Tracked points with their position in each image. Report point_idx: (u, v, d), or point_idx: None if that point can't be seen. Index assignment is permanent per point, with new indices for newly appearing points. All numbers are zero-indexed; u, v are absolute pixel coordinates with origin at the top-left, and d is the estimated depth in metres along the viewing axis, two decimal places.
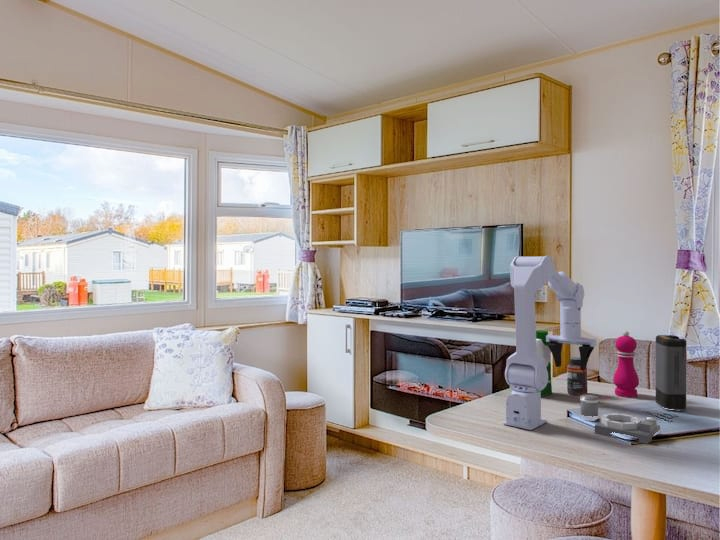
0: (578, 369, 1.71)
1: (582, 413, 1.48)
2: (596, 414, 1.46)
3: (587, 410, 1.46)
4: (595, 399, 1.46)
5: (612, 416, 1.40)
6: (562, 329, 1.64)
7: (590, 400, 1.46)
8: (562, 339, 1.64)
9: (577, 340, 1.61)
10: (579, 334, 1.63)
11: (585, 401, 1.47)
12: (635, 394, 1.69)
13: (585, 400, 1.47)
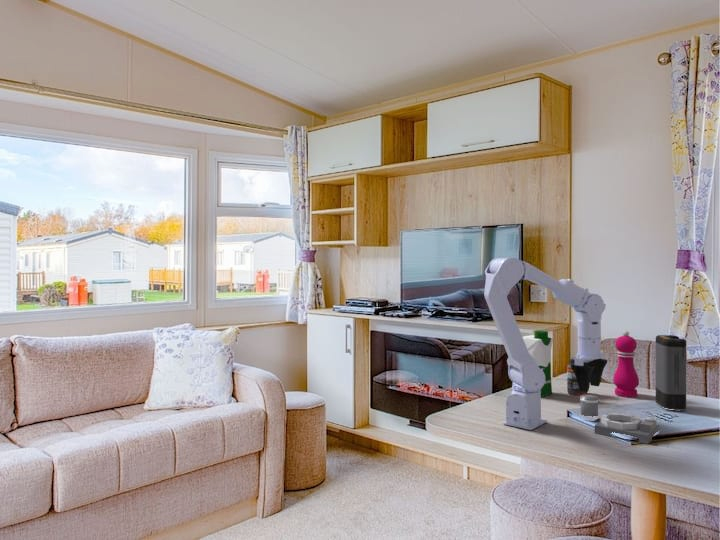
0: None
1: (582, 413, 1.48)
2: (596, 414, 1.46)
3: (587, 410, 1.46)
4: (595, 399, 1.46)
5: (612, 416, 1.40)
6: None
7: (590, 400, 1.46)
8: None
9: (576, 356, 1.47)
10: (584, 351, 1.46)
11: (585, 401, 1.47)
12: (635, 394, 1.69)
13: (585, 400, 1.47)
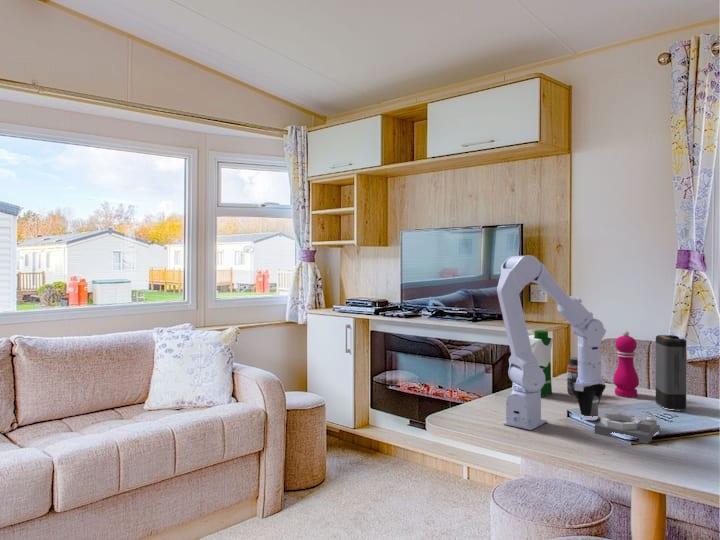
0: None
1: None
2: (596, 414, 1.46)
3: None
4: (595, 399, 1.46)
5: (612, 416, 1.40)
6: None
7: None
8: None
9: None
10: (584, 376, 1.46)
11: None
12: (635, 394, 1.69)
13: None
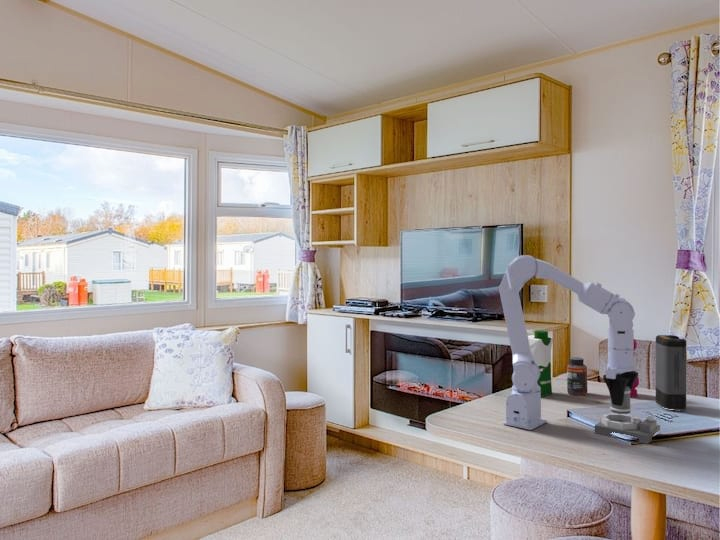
0: (578, 369, 1.71)
1: (612, 405, 1.36)
2: (628, 406, 1.35)
3: None
4: (626, 390, 1.35)
5: (612, 416, 1.40)
6: None
7: None
8: None
9: (607, 368, 1.36)
10: (616, 362, 1.35)
11: None
12: (635, 394, 1.69)
13: None
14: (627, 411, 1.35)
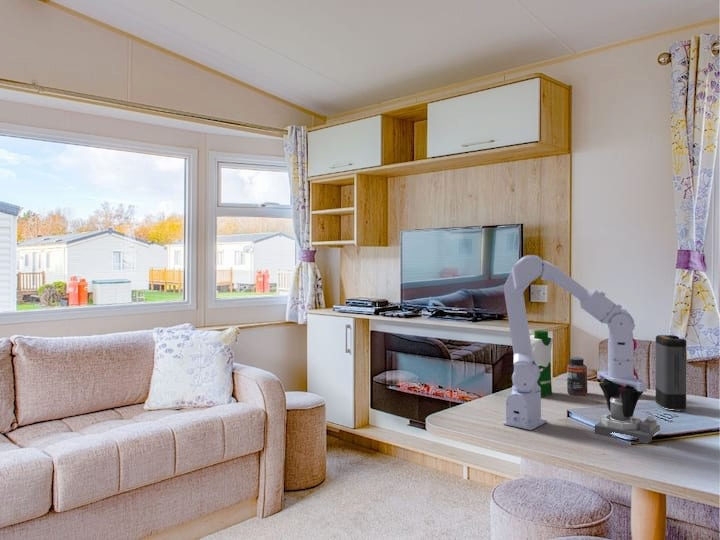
0: (578, 369, 1.71)
1: (621, 418, 1.35)
2: None
3: None
4: None
5: None
6: (608, 366, 1.37)
7: None
8: (607, 378, 1.37)
9: (622, 381, 1.33)
10: (628, 374, 1.34)
11: None
12: None
13: None
14: None
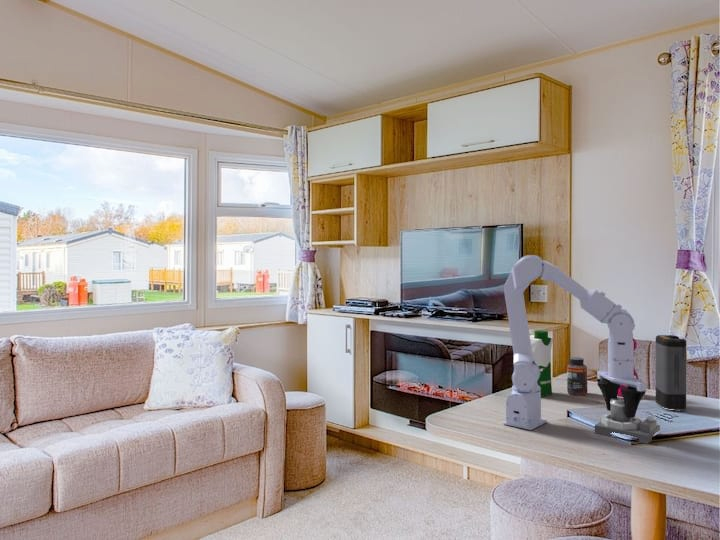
0: (578, 369, 1.71)
1: (621, 419, 1.35)
2: None
3: None
4: None
5: None
6: (608, 366, 1.37)
7: None
8: (607, 378, 1.37)
9: (622, 381, 1.33)
10: (628, 374, 1.34)
11: None
12: None
13: None
14: None
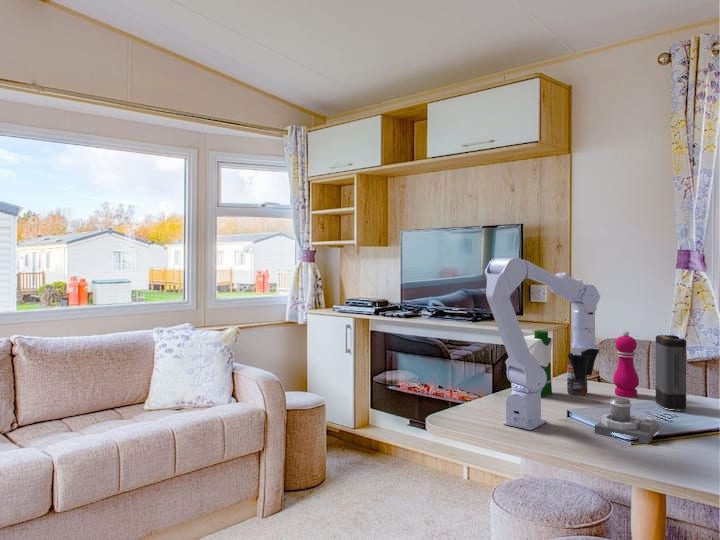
0: None
1: (621, 419, 1.35)
2: None
3: (627, 415, 1.35)
4: (629, 401, 1.36)
5: None
6: None
7: (629, 403, 1.35)
8: None
9: (572, 346, 1.50)
10: (580, 341, 1.49)
11: (625, 405, 1.35)
12: (635, 394, 1.69)
13: (625, 404, 1.35)
14: None
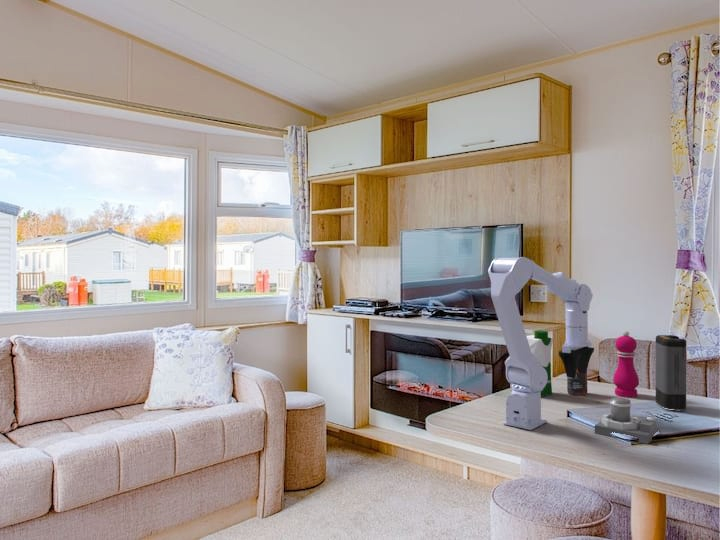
0: None
1: (621, 419, 1.35)
2: None
3: (627, 415, 1.35)
4: (629, 401, 1.36)
5: None
6: None
7: (629, 403, 1.35)
8: None
9: (564, 344, 1.53)
10: (571, 339, 1.52)
11: (625, 405, 1.35)
12: (635, 394, 1.69)
13: (625, 404, 1.35)
14: None
